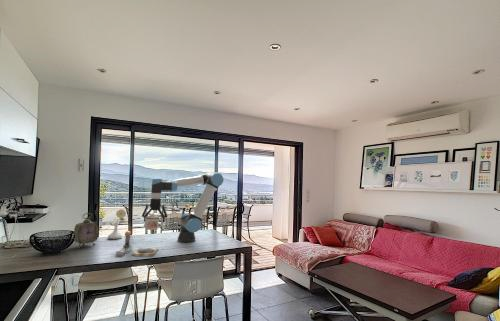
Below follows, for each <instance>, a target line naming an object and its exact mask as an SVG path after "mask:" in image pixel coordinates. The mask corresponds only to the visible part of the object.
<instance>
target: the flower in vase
mask: <svg viewBox="0 0 500 321" xmlns="http://www.w3.org/2000/svg"><path fill="white" fill-rule="evenodd" d="M115 215H116V216H117V218H119V219H116V218H113V220H115V221H113V225H114V230H113V231H112V232H111V233H110V234H108V235H107V238H108V239H110V240H116V239H117V240H118V239H122V237H123V234H122V233H121V232H119V230H118V228H119V227H118V226H119V224H120V221H121V222H123V221H125V220H126V219H125V218H124V217H126V215H127V212H126V210H125V209H122V208H121V209H118V210H117V211H116V213H115Z"/></svg>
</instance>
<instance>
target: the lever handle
mask: <svg viewBox="0 0 500 321" xmlns="http://www.w3.org/2000/svg"><path fill="white" fill-rule="evenodd" d="M124 237H125V241H124V244H123V246H122V247H130V246H132V244H131V243H130V242H131V237H132V232H131V231H129V230H127V231H125V233H124Z"/></svg>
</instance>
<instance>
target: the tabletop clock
mask: <svg viewBox="0 0 500 321" xmlns="http://www.w3.org/2000/svg"><path fill="white" fill-rule="evenodd" d="M86 215H91V216H86ZM85 216H86V217H85ZM92 217H93V213H91V212H86V213H83V214H82V218H83V219H84V220H83V221H82V222H78V223H77V224H75V226H74V230H73V234H74V233H75V238H74V237H73V240H74V242H76V243H78V244H79V245H78V246H77V249H81V246H82V247H85V245H86V244H89V243H92V245H93V246H95V245H96V243H94V242H96V241H97V240H98V238H99V234H100V226H99V223H97V222H93V221H91V218H92ZM81 244H82V245H81Z"/></svg>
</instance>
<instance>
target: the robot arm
mask: <svg viewBox="0 0 500 321" xmlns="http://www.w3.org/2000/svg"><path fill="white" fill-rule="evenodd" d="M223 184H224V176H223V174H222V173H220V172H217V171H215V172H213V171H212V172H207V173H203V174H199V175H196V176H189V177H185V178H184V177H183V178H178V179H177V178H176V179H172V180H163V178H155V177H154V178H152V182H151V189H150V204H146V205H145V208H144V211H143V212H142V214H141V217H143V222H144V227H146V221H147V217H148V216H149V214H150V213H151V212H152V211H157V212H158V213H159V214H160V216H161V220H162V221H161V220H160V221H161V223H160V224H161V225H160V226H161V228H162V227H164V223H165V221H166V218H167V217H168V214H167V211H166V207H165V204H162V202H161V201H162V191H163V192H164V191H165V192H176V191H177V190H178V189H181V188H186V187H191V186H198V185H201V186H205V187H204V190H203V191H202V193H201V195H200V197H199V199H198V201H197V203H196V205H195V207H194V209H193V211H191V212H190V213H185V214H184V213H181V216H180V230H179V234H178V237H177V242H179V243H185V244H186V243H193V242H195V241H196V234H195V233H197V232H198V231H200V230H201V228H202V221H203V220H204V218H203V216H204V213H205V211H206V209H207V207H208V205H209V203H210V201H211V200H212V197H213V195H214V193H215V192H216V191H217V190H219V187H220V186H221V185H223ZM161 208H162V209H161ZM148 209H149V210H148ZM147 211H148V212H147Z"/></svg>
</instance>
